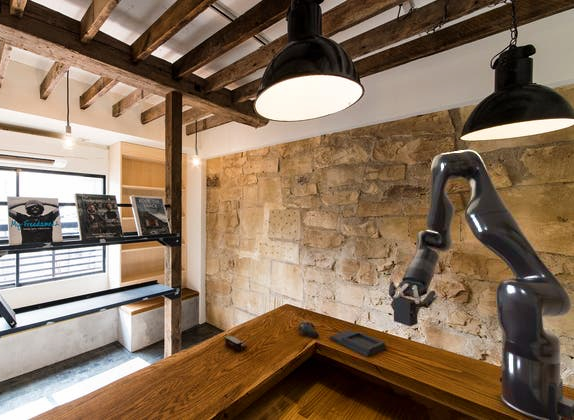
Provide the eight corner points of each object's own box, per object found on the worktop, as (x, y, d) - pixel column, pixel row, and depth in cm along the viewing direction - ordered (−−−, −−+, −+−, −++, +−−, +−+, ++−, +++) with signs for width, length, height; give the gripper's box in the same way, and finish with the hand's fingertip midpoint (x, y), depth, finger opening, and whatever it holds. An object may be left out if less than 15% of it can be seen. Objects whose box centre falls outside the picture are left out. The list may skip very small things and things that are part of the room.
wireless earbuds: (239, 353, 91) (239, 344, 91) (224, 345, 97) (224, 337, 97) (247, 349, 94) (247, 340, 94) (232, 341, 100) (232, 333, 100)
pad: (386, 348, 95) (386, 341, 95) (367, 357, 90) (367, 350, 90) (348, 332, 108) (349, 326, 108) (330, 339, 102) (330, 333, 102)
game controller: (320, 336, 102) (309, 324, 103) (310, 345, 103) (299, 333, 104) (315, 325, 112) (304, 315, 112) (305, 333, 112) (295, 323, 113)
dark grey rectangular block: (417, 323, 90) (417, 300, 90) (410, 326, 88) (410, 303, 88) (400, 318, 94) (400, 296, 94) (393, 321, 92) (393, 298, 92)
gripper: (393, 263, 101) (376, 299, 95) (441, 270, 88) (424, 312, 82) (400, 275, 103) (384, 310, 98) (448, 284, 91) (432, 325, 85)
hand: (402, 311), depth 90 cm, fingers closed on dark grey rectangular block, 5 cm apart
